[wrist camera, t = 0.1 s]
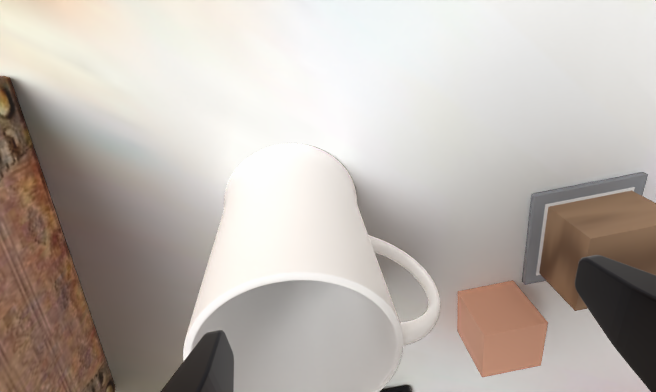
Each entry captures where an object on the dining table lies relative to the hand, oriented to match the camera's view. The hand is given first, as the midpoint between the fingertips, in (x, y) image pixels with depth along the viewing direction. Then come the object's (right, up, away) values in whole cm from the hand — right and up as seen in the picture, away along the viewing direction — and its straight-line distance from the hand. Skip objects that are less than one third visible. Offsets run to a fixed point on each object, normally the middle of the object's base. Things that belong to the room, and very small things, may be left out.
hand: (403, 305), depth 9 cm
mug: (-3, +2, +16) cm, 16 cm away
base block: (+17, 0, +18) cm, 25 cm away
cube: (+11, -6, +21) cm, 25 cm away
